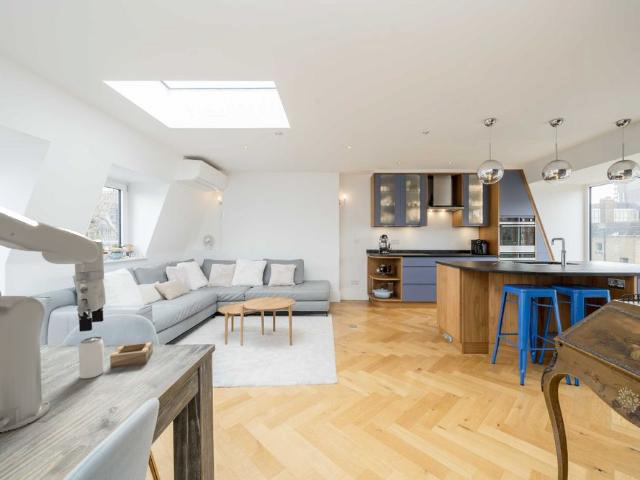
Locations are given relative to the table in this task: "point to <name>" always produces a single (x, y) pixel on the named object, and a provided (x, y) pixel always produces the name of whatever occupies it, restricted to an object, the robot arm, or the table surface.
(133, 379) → the table surface
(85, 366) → the can
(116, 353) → the socket block
